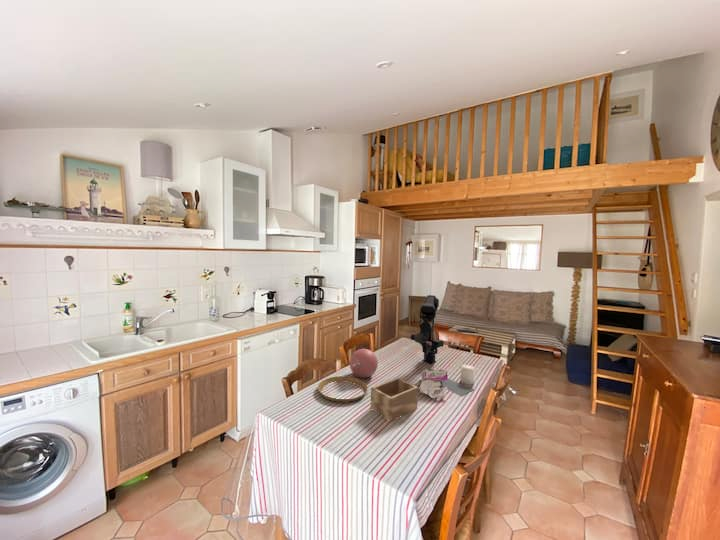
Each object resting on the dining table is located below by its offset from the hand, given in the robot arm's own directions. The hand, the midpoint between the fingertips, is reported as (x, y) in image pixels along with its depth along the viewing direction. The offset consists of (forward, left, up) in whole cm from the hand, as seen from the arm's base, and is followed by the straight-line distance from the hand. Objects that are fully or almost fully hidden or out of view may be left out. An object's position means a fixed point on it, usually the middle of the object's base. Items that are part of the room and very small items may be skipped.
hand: (425, 355), depth 166 cm
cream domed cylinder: (+18, +14, -12) cm, 26 cm away
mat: (+17, 0, -12) cm, 21 cm away
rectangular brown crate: (+14, -39, -12) cm, 43 cm away
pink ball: (-20, -30, -13) cm, 38 cm away
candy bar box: (+5, -1, -10) cm, 12 cm away
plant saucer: (-12, -48, -13) cm, 51 cm away
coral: (+15, -21, -11) cm, 28 cm away
